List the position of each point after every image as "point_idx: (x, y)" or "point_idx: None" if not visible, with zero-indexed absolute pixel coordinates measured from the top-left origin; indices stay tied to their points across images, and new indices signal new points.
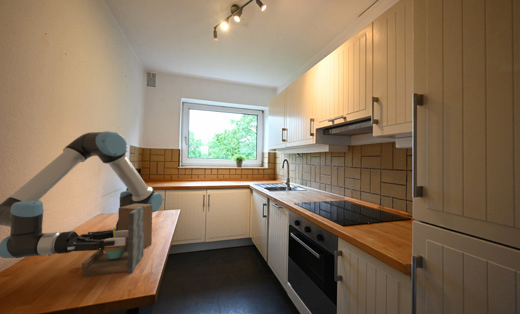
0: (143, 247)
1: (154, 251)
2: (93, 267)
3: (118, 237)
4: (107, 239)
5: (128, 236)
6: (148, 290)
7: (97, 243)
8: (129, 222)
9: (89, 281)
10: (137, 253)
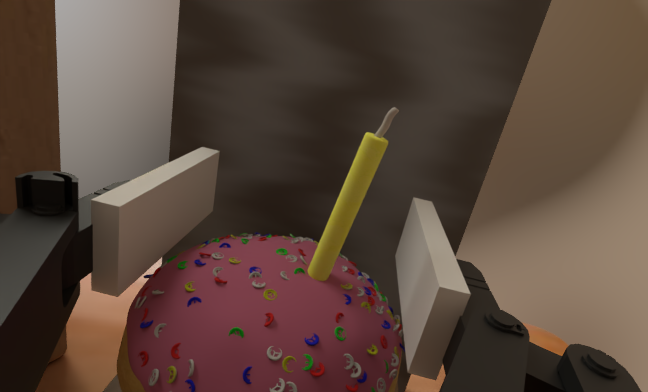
0: None
1: (148, 278)
2: None
3: (258, 247)
4: (462, 277)
5: (484, 174)
6: (550, 340)
7: (618, 365)
8: (529, 48)
9: None
10: None
